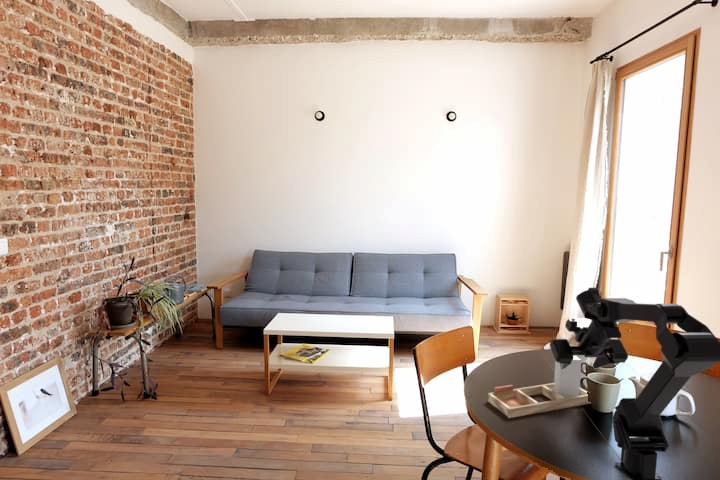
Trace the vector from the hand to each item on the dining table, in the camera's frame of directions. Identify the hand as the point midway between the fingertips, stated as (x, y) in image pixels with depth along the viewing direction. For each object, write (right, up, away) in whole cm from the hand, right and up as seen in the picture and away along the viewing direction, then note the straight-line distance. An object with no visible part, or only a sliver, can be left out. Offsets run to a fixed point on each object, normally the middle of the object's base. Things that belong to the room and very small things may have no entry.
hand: (577, 367), depth 125 cm
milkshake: (+16, -11, +21) cm, 28 cm away
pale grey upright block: (+1, -12, +9) cm, 15 cm away
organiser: (-8, -12, +6) cm, 16 cm away
